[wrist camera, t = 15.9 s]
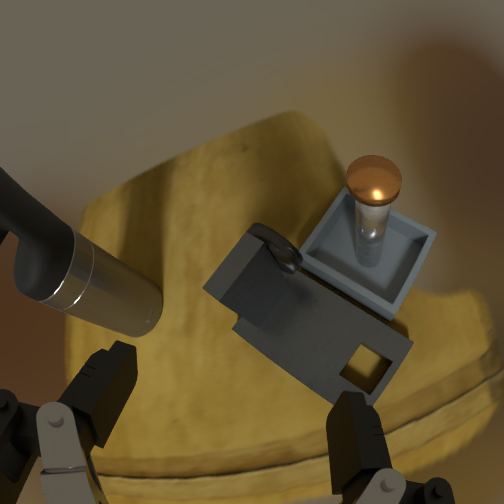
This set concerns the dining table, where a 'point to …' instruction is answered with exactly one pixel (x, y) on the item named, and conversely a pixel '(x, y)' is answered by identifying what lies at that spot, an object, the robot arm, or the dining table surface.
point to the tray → (356, 276)
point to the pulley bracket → (299, 316)
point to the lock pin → (372, 203)
